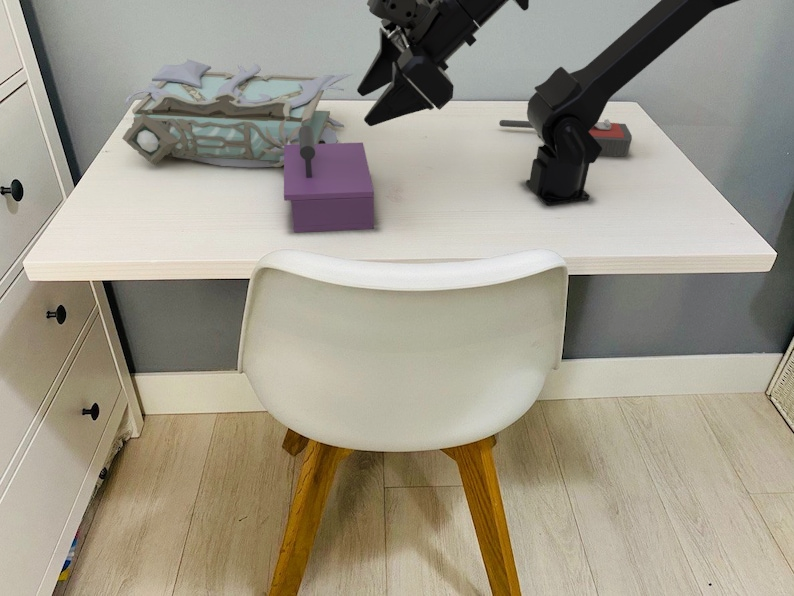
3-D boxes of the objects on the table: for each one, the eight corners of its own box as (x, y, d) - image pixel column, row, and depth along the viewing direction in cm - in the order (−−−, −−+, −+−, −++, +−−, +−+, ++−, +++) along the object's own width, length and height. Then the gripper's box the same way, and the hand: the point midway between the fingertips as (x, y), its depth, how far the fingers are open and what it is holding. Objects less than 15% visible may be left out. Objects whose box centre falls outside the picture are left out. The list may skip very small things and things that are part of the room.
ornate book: (122, 175, 91) (337, 180, 89) (102, 108, 85) (332, 112, 83) (176, 113, 109) (355, 116, 107) (162, 53, 103) (353, 56, 101)
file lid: (284, 200, 76) (280, 161, 73) (284, 150, 87) (281, 113, 84) (373, 197, 77) (373, 158, 74) (362, 147, 88) (362, 111, 85)
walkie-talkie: (623, 134, 105) (497, 128, 105) (630, 107, 102) (501, 101, 102) (636, 158, 98) (501, 152, 98) (644, 130, 95) (505, 123, 96)
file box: (293, 232, 79) (291, 200, 76) (292, 179, 89) (290, 150, 87) (373, 228, 80) (373, 197, 77) (363, 177, 91) (362, 148, 88)
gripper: (401, -66, 75) (309, 34, 81) (429, -31, 61) (314, 89, 66) (462, 7, 81) (372, 96, 86) (501, 55, 66) (390, 158, 72)
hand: (362, 107), depth 78 cm, fingers open, 9 cm apart
